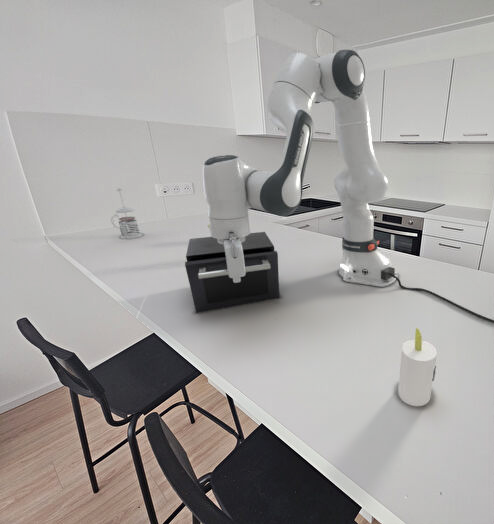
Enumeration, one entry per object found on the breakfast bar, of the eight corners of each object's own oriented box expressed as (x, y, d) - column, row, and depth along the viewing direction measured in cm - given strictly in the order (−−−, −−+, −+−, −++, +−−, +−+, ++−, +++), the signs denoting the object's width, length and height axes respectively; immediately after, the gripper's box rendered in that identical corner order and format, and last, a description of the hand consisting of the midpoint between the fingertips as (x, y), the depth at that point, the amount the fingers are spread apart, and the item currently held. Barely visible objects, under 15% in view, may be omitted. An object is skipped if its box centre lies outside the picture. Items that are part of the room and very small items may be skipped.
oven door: (282, 305, 92) (280, 260, 83) (196, 321, 83) (184, 273, 74) (278, 295, 96) (276, 250, 87) (196, 309, 87) (185, 261, 78)
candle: (429, 410, 55) (439, 343, 49) (394, 400, 57) (400, 334, 51) (433, 387, 60) (442, 324, 55) (401, 378, 62) (407, 316, 57)
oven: (278, 295, 97) (274, 246, 90) (196, 310, 87) (185, 256, 81) (268, 275, 112) (264, 231, 106) (198, 285, 103) (189, 238, 97)
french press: (146, 235, 160) (134, 188, 151) (121, 240, 151) (107, 190, 142) (137, 232, 165) (125, 186, 156) (112, 237, 155) (98, 188, 146)
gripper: (248, 237, 63) (254, 295, 68) (240, 218, 80) (245, 265, 85) (216, 240, 61) (225, 300, 65) (215, 219, 78) (222, 268, 83)
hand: (236, 280), depth 76 cm, fingers closed
